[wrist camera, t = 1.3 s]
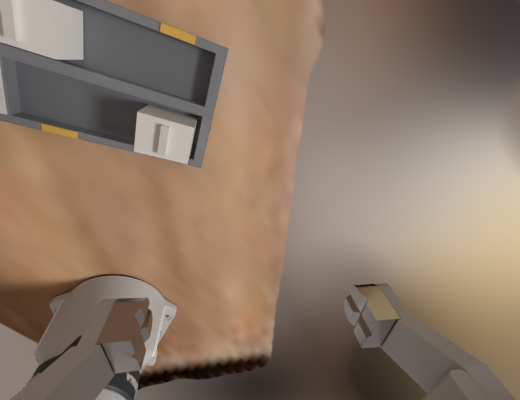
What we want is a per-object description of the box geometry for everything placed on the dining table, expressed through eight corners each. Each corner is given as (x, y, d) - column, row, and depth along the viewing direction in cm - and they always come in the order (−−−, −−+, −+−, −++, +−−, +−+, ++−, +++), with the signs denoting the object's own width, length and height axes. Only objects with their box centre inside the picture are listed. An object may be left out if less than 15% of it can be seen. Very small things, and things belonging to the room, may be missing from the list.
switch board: (202, 160, 30) (200, 168, 28) (16, 114, 25) (-3, 120, 22) (227, 49, 25) (228, 48, 22) (-4, -41, 19) (-33, -54, 17)
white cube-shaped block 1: (191, 150, 28) (186, 166, 24) (145, 138, 27) (132, 153, 22) (197, 118, 26) (194, 129, 22) (149, 103, 25) (135, 112, 21)
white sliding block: (83, 59, 22) (52, 59, 18) (17, 38, 21) (-34, 32, 17) (83, 11, 21) (48, -2, 16) (11, -16, 19) (-47, -37, 15)
